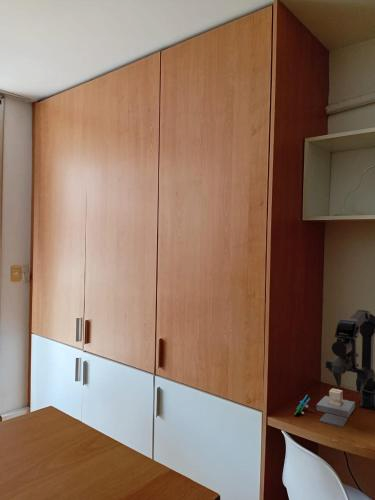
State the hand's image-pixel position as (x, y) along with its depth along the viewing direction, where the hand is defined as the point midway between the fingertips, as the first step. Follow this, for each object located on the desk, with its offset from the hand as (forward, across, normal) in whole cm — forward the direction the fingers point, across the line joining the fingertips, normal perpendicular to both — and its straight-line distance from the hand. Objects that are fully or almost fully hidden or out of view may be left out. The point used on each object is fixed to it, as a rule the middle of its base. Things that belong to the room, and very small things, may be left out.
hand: (349, 389), depth 154 cm
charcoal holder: (+14, -12, +8) cm, 20 cm away
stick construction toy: (+14, -17, -7) cm, 23 cm away
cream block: (+14, -12, +8) cm, 20 cm away
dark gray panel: (+13, -5, -3) cm, 15 cm away
